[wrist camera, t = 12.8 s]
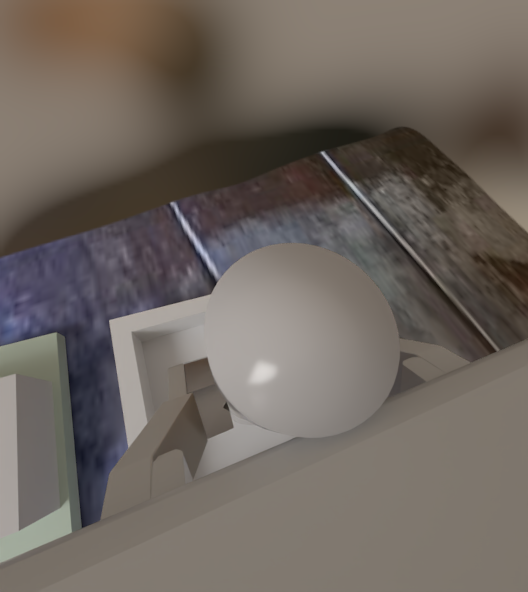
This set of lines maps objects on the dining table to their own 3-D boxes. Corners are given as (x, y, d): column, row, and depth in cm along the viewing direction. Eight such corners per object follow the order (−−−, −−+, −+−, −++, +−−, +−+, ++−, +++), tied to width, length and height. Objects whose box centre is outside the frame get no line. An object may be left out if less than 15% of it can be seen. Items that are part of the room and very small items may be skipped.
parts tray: (362, 458, 17) (389, 465, 14) (163, 555, 14) (150, 588, 11) (291, 290, 21) (301, 271, 18) (126, 335, 18) (109, 320, 15)
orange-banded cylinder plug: (291, 410, 15) (437, 392, 5) (227, 435, 14) (240, 478, 4) (269, 347, 16) (347, 228, 6) (208, 366, 15) (182, 264, 5)
